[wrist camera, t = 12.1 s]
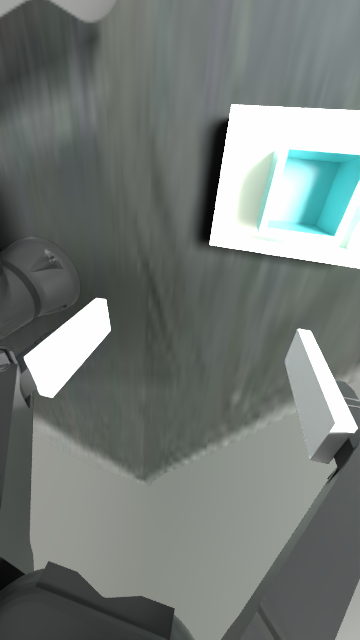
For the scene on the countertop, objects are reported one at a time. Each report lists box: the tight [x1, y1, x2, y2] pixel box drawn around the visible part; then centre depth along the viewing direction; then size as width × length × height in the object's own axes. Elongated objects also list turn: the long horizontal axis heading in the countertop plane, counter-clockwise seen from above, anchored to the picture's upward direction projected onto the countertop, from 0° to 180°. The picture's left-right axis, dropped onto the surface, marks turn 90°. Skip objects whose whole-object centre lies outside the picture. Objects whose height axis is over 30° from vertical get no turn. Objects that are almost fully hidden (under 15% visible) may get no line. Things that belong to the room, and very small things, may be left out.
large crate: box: [210, 105, 360, 268], centre depth 27 cm, size 19×14×4 cm
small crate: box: [256, 138, 360, 245], centre depth 24 cm, size 8×8×8 cm
